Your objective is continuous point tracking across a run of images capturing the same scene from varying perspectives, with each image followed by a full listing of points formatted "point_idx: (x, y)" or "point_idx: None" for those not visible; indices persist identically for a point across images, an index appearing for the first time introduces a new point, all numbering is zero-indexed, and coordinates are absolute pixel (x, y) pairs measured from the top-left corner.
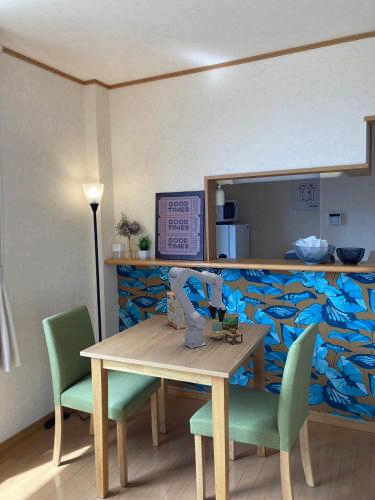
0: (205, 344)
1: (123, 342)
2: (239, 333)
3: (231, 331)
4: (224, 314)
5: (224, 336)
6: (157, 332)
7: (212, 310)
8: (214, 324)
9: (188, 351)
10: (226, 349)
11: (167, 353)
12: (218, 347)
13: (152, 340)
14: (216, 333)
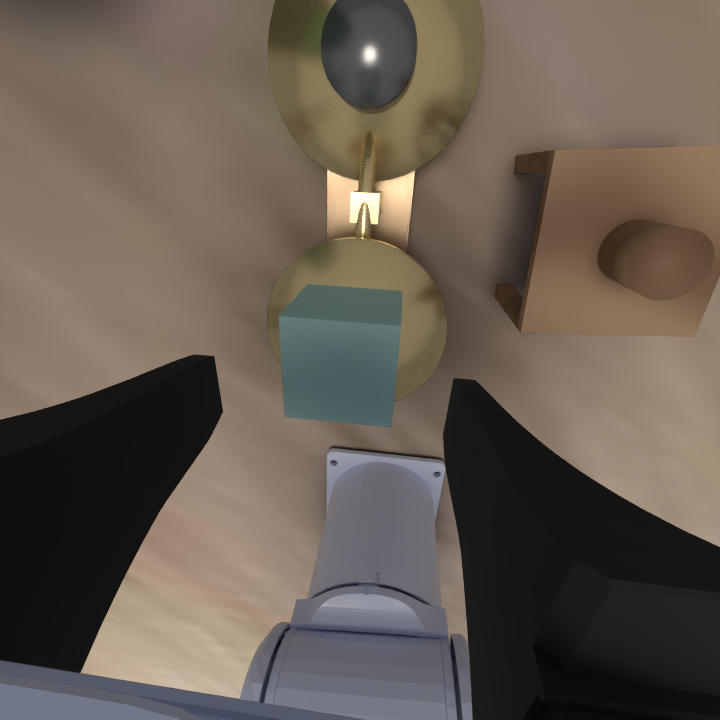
0: (444, 471)
1: (142, 663)
2: (718, 184)
3: (397, 100)
4: (580, 482)
5: (383, 222)
6: None
7: (102, 539)
8: (351, 421)
9: (461, 580)
10: (653, 414)
11: None
12: (559, 428)
13: (165, 594)
14: (418, 382)
